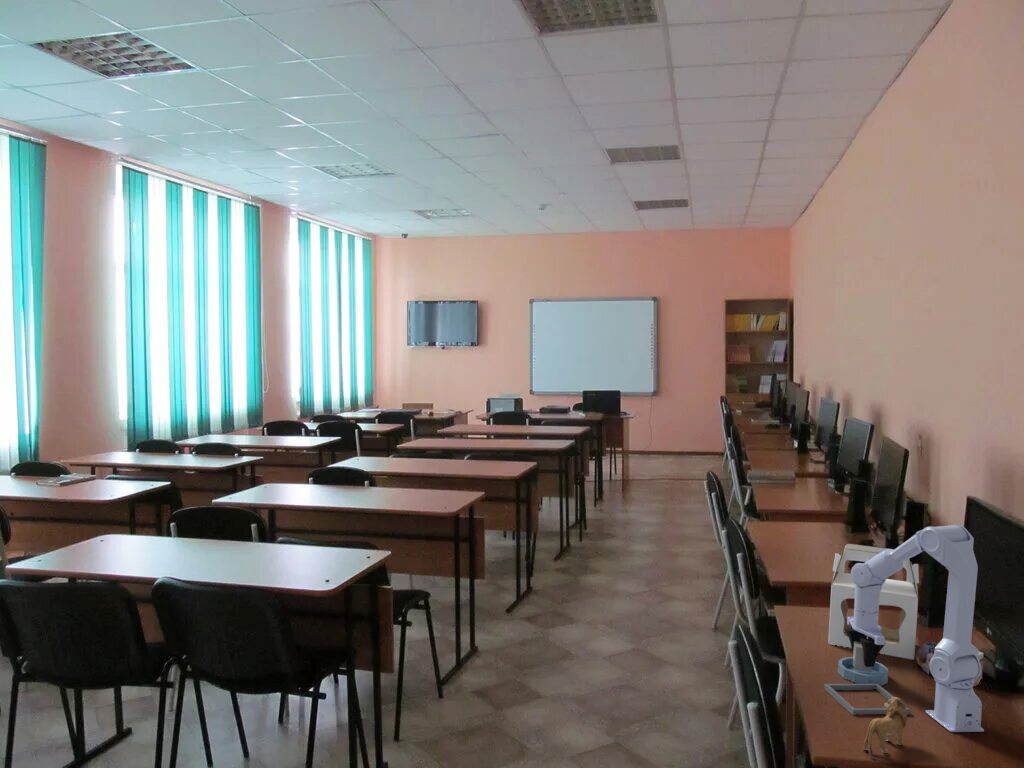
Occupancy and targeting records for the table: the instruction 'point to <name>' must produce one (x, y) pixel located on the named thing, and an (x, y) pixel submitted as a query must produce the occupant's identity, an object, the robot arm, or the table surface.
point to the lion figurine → (887, 724)
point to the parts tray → (832, 687)
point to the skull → (925, 655)
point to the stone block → (859, 658)
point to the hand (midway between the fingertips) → (863, 661)
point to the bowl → (863, 673)
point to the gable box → (891, 594)
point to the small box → (981, 669)
